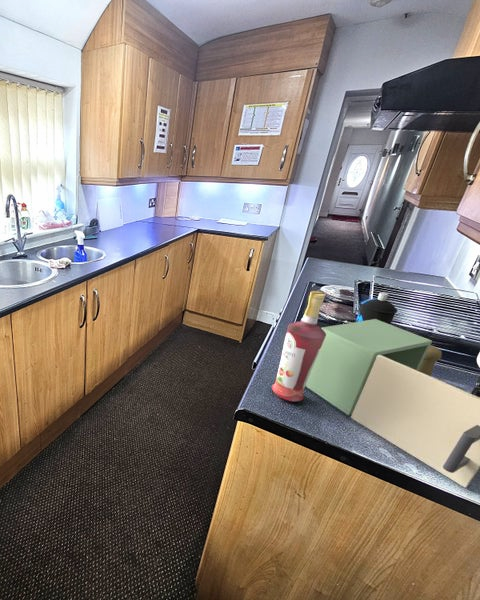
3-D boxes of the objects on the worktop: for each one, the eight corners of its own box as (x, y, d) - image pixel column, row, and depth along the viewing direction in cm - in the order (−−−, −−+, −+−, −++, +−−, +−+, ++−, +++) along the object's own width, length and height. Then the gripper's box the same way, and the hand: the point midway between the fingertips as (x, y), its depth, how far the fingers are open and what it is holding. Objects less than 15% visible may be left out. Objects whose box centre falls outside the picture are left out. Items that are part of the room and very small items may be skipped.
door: (450, 498, 57) (499, 423, 50) (336, 423, 73) (362, 360, 67) (467, 486, 59) (516, 413, 53) (353, 416, 75) (379, 354, 69)
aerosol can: (382, 354, 101) (408, 295, 93) (370, 362, 97) (396, 301, 89) (351, 343, 107) (373, 286, 99) (339, 349, 103) (360, 291, 95)
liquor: (310, 405, 79) (347, 299, 67) (280, 406, 78) (312, 300, 67) (291, 386, 85) (323, 286, 74) (263, 386, 85) (291, 287, 74)
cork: (433, 390, 85) (452, 355, 80) (404, 386, 87) (422, 350, 82) (420, 377, 90) (437, 342, 86) (393, 372, 92) (408, 339, 88)
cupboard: (403, 400, 81) (432, 340, 75) (348, 415, 76) (374, 352, 69) (353, 373, 92) (375, 318, 85) (302, 384, 86) (321, 327, 80)
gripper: (601, 344, 44) (526, 447, 51) (552, 310, 55) (496, 398, 62) (515, 327, 48) (457, 424, 55) (485, 299, 59) (440, 382, 66)
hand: (478, 410), depth 58 cm, fingers closed
